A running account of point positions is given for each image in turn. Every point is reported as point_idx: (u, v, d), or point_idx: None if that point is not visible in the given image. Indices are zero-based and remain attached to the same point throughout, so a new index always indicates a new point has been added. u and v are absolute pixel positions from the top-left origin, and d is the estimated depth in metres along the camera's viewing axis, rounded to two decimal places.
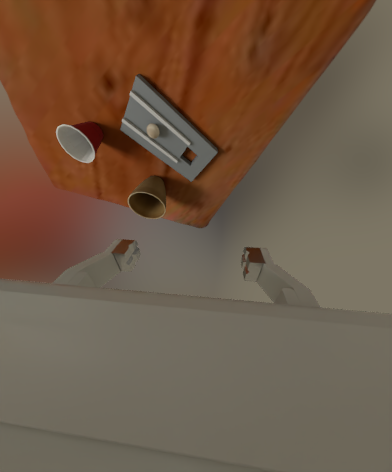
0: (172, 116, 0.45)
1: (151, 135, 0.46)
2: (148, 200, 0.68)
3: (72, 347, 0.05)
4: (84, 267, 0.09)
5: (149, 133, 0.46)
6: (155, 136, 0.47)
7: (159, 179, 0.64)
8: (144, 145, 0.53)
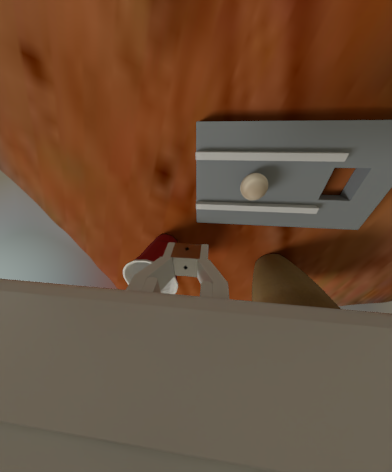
0: (284, 133, 0.20)
1: (257, 194, 0.21)
2: None
3: (72, 347, 0.05)
4: (150, 272, 0.08)
5: (252, 194, 0.21)
6: (264, 191, 0.21)
7: (279, 258, 0.33)
8: (239, 221, 0.28)
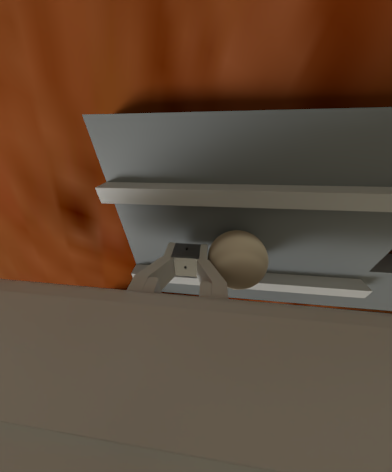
0: (309, 142, 0.08)
1: (242, 287, 0.09)
2: None
3: (72, 347, 0.05)
4: (151, 272, 0.08)
5: (230, 284, 0.09)
6: (260, 278, 0.09)
7: None
8: None
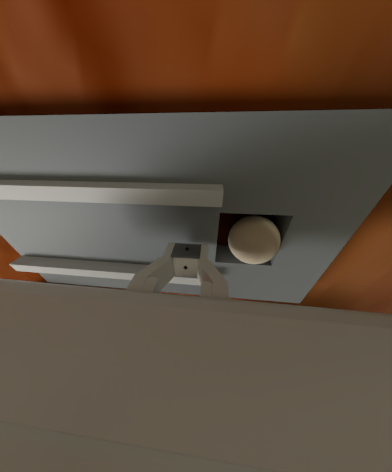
0: (80, 143, 0.09)
1: None
2: None
3: (72, 347, 0.05)
4: (150, 272, 0.08)
5: None
6: None
7: None
8: (108, 283, 0.17)
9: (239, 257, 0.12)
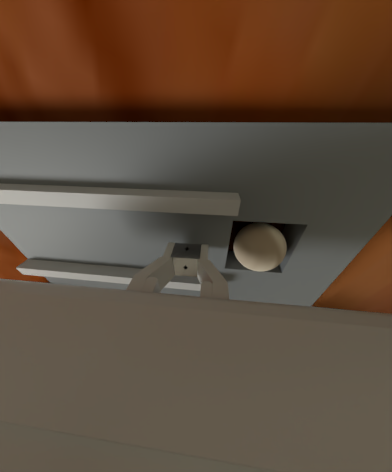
0: (96, 150, 0.09)
1: None
2: None
3: (72, 347, 0.05)
4: (150, 272, 0.08)
5: None
6: None
7: None
8: (114, 287, 0.17)
9: (240, 261, 0.12)
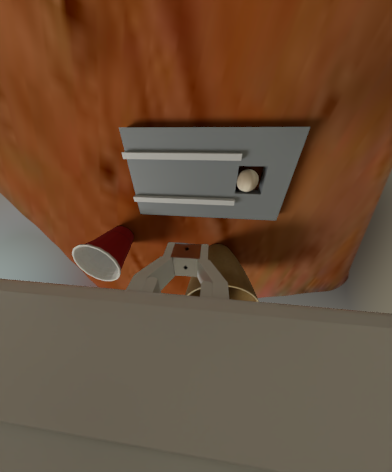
0: (190, 137, 0.24)
1: None
2: None
3: (72, 347, 0.05)
4: (150, 272, 0.08)
5: None
6: None
7: (219, 247, 0.37)
8: (175, 212, 0.33)
9: (237, 185, 0.28)
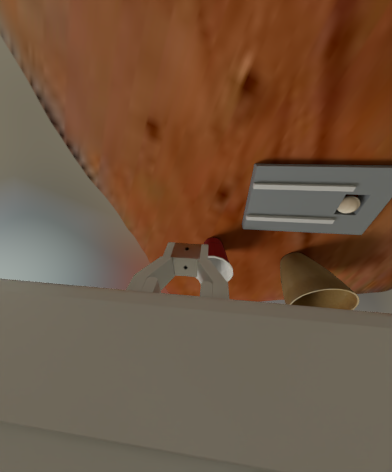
0: (314, 173, 0.31)
1: None
2: None
3: (72, 347, 0.05)
4: (150, 272, 0.08)
5: None
6: None
7: (301, 255, 0.44)
8: (275, 228, 0.39)
9: (340, 208, 0.34)
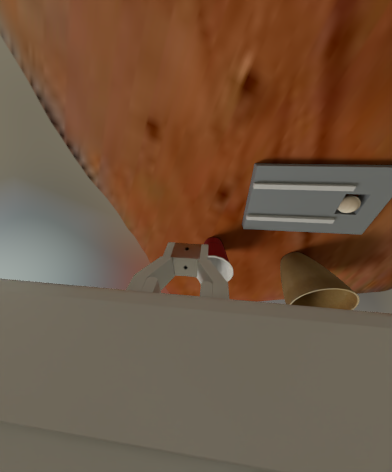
0: (314, 173, 0.31)
1: None
2: None
3: (72, 347, 0.05)
4: (150, 272, 0.08)
5: None
6: None
7: (302, 255, 0.44)
8: (275, 228, 0.39)
9: (341, 208, 0.34)
